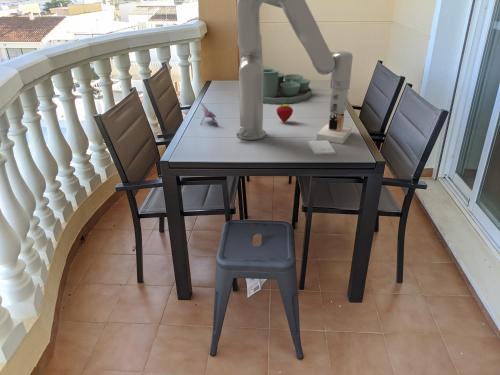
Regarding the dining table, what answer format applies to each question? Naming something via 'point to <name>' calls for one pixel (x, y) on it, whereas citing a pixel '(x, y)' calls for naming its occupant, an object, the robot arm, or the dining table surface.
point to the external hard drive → (321, 147)
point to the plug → (339, 124)
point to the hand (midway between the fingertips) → (336, 125)
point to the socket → (334, 134)
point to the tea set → (284, 87)
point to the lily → (207, 113)
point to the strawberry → (284, 112)
